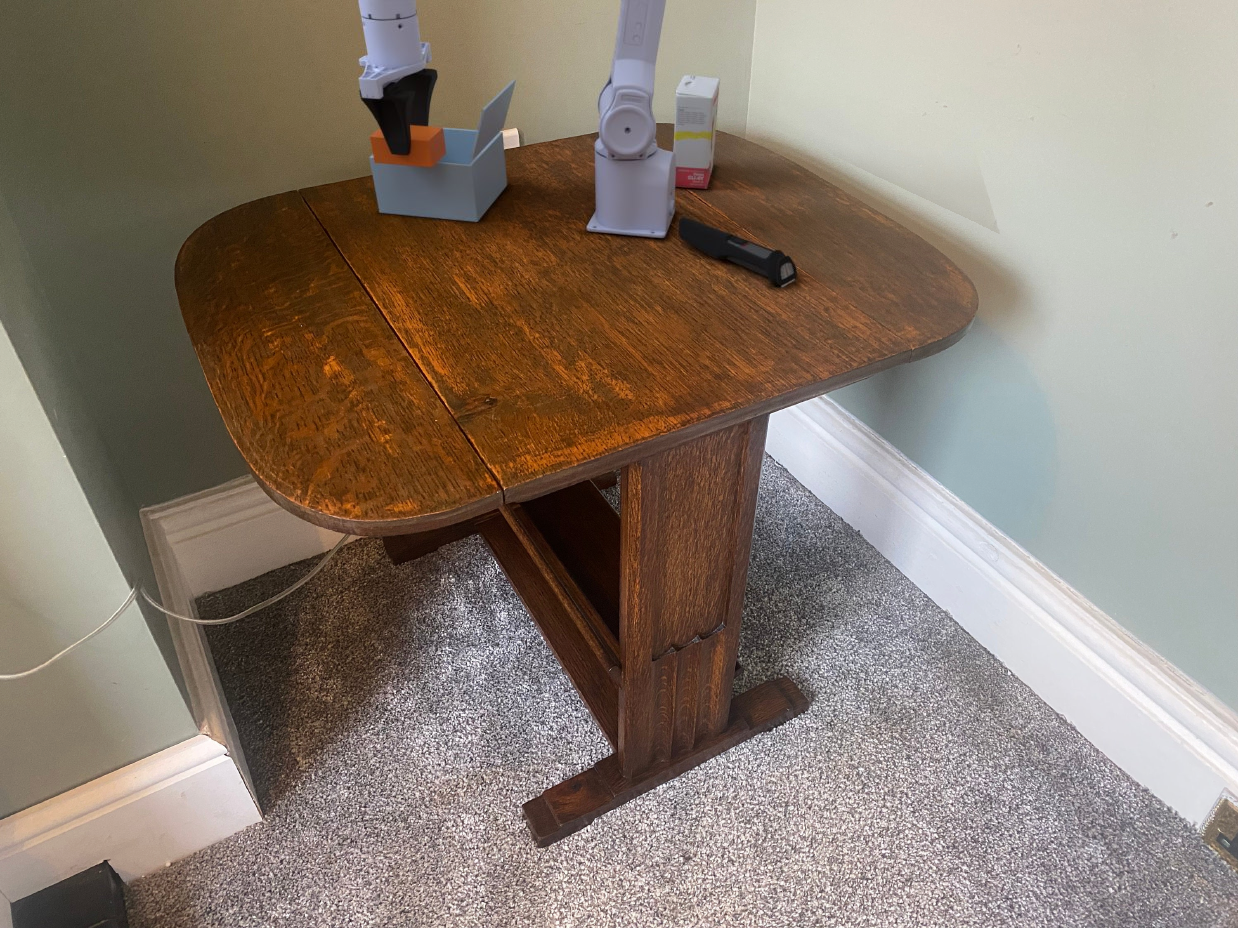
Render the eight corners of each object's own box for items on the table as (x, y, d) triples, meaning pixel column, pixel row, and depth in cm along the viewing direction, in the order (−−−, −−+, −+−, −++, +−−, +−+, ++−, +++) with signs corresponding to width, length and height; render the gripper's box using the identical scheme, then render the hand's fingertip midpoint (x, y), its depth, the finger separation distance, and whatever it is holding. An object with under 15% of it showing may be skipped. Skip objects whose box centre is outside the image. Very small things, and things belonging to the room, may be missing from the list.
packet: (446, 153, 99) (443, 127, 97) (432, 167, 96) (428, 141, 94) (390, 149, 100) (385, 123, 98) (374, 163, 97) (369, 136, 95)
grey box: (507, 185, 112) (502, 132, 108) (477, 222, 103) (471, 166, 99) (416, 177, 114) (408, 125, 110) (379, 212, 105) (369, 157, 101)
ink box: (707, 190, 111) (714, 96, 103) (670, 187, 112) (674, 93, 104) (714, 166, 117) (721, 76, 110) (679, 164, 118) (683, 74, 111)
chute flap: (501, 126, 107) (503, 128, 107) (469, 160, 99) (472, 161, 99) (513, 78, 103) (516, 80, 103) (482, 109, 94) (484, 110, 94)
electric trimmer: (691, 236, 101) (692, 210, 99) (798, 278, 92) (802, 251, 90) (670, 246, 99) (671, 220, 97) (777, 290, 90) (781, 262, 88)
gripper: (381, -3, 94) (401, 122, 103) (320, 29, 83) (348, 166, 92) (441, 0, 93) (456, 126, 102) (388, 33, 82) (410, 171, 91)
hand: (409, 146), depth 97 cm, fingers closed on packet, 4 cm apart
